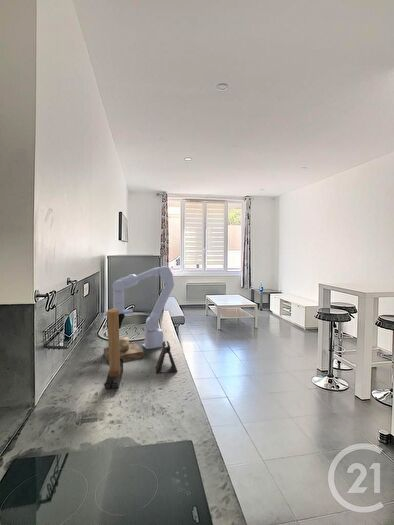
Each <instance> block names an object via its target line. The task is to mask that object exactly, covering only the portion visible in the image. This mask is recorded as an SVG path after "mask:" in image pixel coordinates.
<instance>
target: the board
mask: <svg viewBox="0 0 394 525" xmlns="http://www.w3.org/2000/svg"><path fill="white" fill-rule="evenodd" d="M144 352H145V351H144V349H143V350H142V348H141V347H140V346H139V345H138V344H137V343H136V342H135V343H134V342H133V343H129V350H128V351H120V358H121V359H123V360H124V362H125V361H130V360H131V361H132V360H138V359H142V358H144V354H145V353H144ZM103 355H104V356H105V358H106V359H107V361H108V362H109V346H107V347H106V346H105V347H103Z"/></svg>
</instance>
